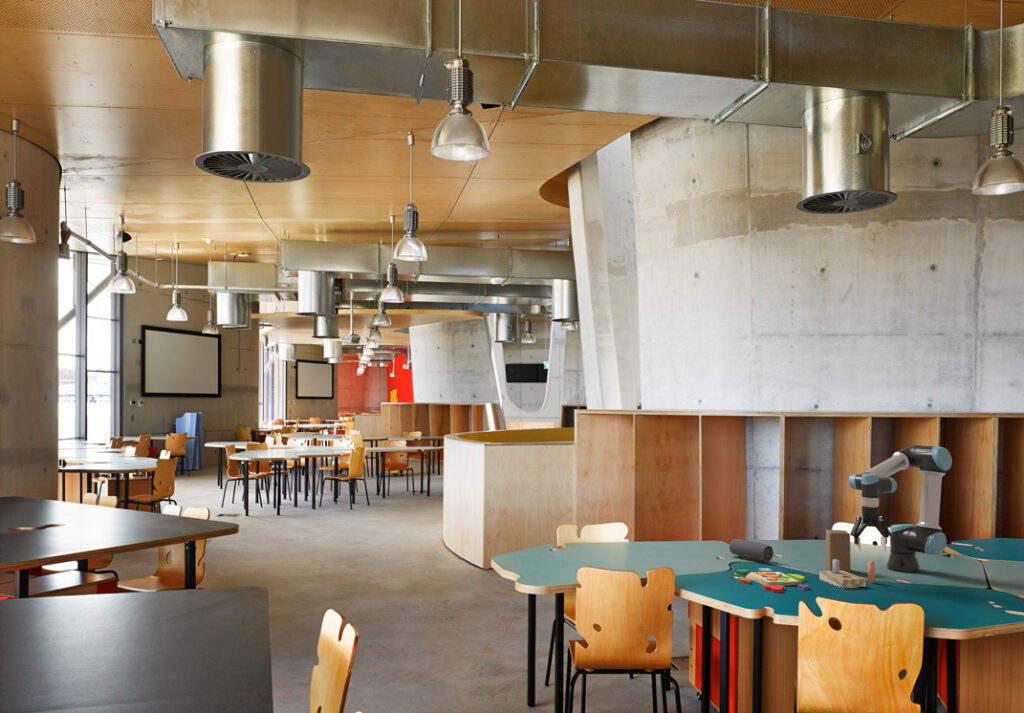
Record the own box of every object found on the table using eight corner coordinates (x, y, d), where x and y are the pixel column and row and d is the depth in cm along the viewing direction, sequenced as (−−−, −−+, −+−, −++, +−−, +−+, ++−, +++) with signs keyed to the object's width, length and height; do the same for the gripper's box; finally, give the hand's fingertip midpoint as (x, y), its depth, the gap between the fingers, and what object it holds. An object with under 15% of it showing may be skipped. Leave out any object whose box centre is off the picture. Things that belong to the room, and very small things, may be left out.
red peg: (872, 582, 363) (872, 561, 364) (876, 583, 360) (876, 562, 361) (866, 582, 363) (866, 561, 363) (870, 583, 360) (870, 562, 360)
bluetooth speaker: (774, 562, 406) (774, 543, 406) (763, 564, 400) (762, 545, 401) (739, 555, 424) (739, 537, 425) (728, 556, 419) (728, 538, 420)
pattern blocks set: (718, 576, 373) (718, 570, 374) (771, 571, 387) (771, 565, 387) (773, 594, 338) (773, 587, 339) (829, 588, 352) (829, 581, 352)
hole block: (841, 578, 370) (841, 570, 370) (865, 587, 352) (865, 578, 352) (819, 579, 367) (819, 571, 368) (842, 588, 350) (842, 579, 350)
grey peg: (837, 580, 366) (836, 559, 366) (841, 581, 363) (840, 560, 363) (831, 580, 365) (831, 559, 366) (835, 582, 362) (835, 560, 363)
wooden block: (851, 573, 381) (850, 533, 382) (829, 572, 383) (829, 532, 384) (846, 569, 391) (845, 530, 392) (825, 568, 393) (825, 529, 394)
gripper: (888, 505, 370) (888, 549, 368) (842, 505, 365) (842, 549, 364) (898, 507, 362) (899, 552, 361) (851, 507, 358) (852, 552, 356)
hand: (870, 551), depth 362 cm, fingers open, 13 cm apart
